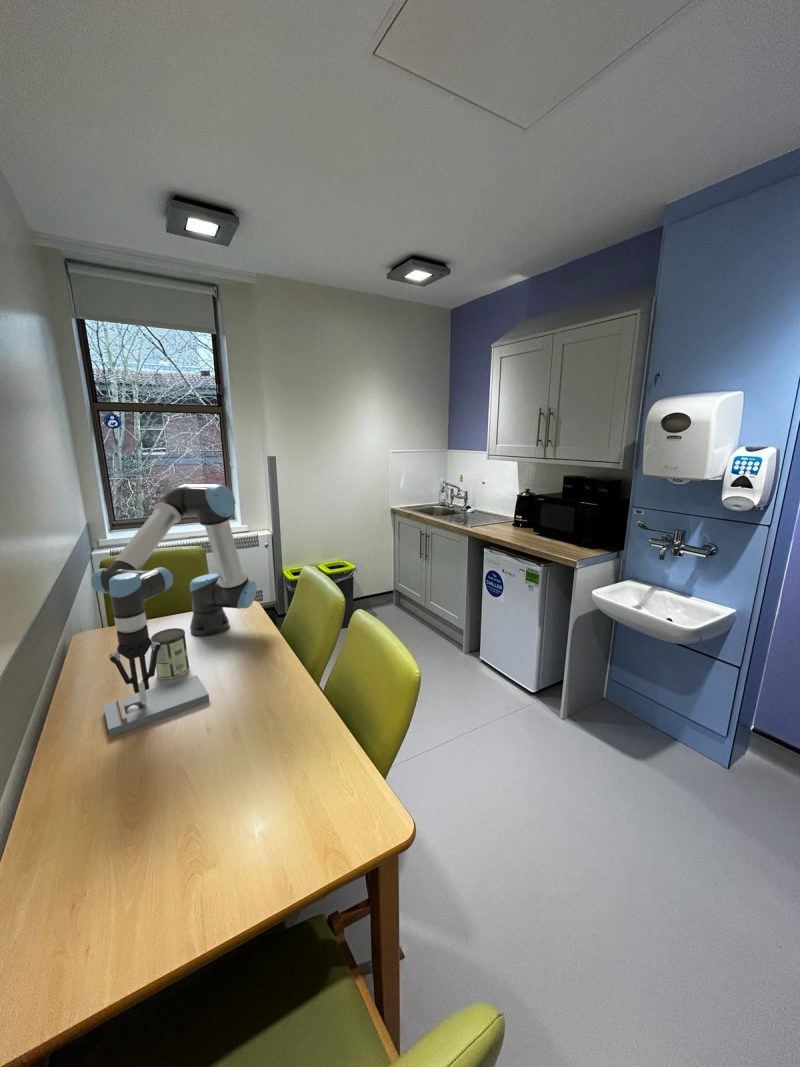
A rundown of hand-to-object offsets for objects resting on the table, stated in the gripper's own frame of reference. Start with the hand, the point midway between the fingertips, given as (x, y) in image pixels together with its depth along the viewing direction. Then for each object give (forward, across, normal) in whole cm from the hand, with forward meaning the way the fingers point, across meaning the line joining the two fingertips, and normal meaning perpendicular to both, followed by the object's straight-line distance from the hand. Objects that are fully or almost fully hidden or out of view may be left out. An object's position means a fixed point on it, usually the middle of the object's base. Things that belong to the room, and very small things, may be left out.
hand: (143, 700), depth 128 cm
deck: (+4, -4, 0) cm, 5 cm away
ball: (+2, +3, 0) cm, 4 cm away
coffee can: (+4, -12, -19) cm, 23 cm away
